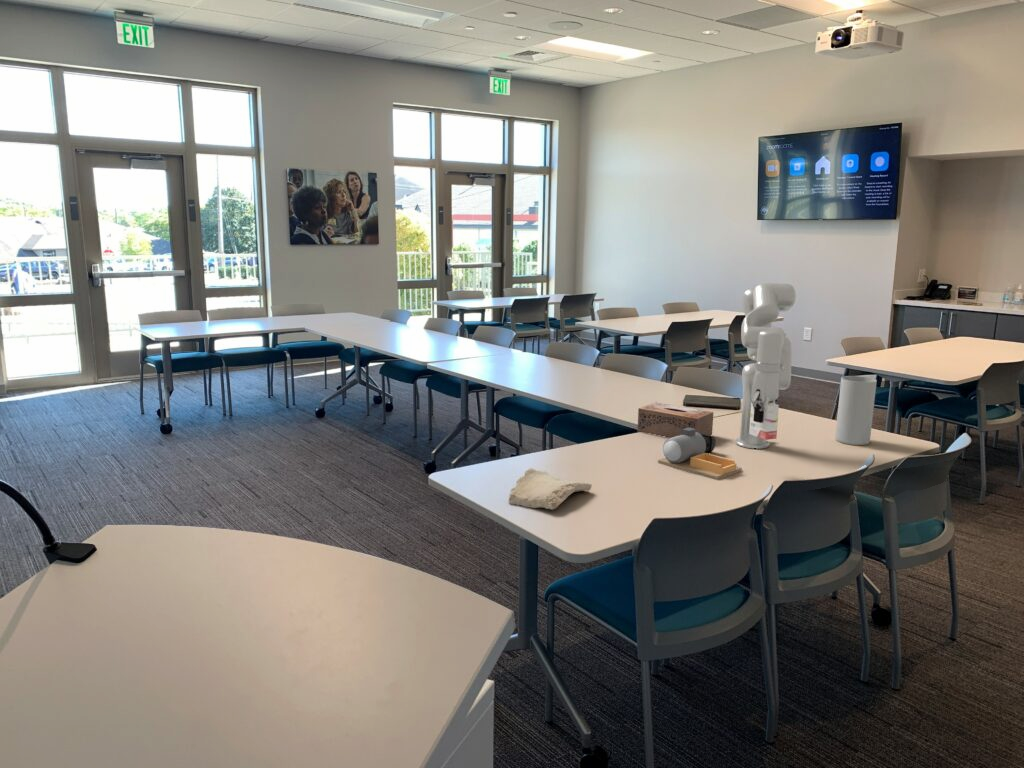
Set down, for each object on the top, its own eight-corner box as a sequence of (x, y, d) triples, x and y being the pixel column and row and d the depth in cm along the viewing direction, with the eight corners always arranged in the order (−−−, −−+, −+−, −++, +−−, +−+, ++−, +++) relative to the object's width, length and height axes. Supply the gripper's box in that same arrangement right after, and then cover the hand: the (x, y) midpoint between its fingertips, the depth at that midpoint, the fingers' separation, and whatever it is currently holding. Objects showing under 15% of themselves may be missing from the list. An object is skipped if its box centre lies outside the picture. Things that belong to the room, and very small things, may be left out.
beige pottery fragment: (498, 504, 227) (555, 513, 216) (497, 480, 226) (554, 487, 215) (541, 485, 247) (595, 492, 236) (540, 463, 246) (594, 469, 235)
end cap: (715, 452, 280) (716, 435, 278) (705, 456, 275) (706, 438, 273) (691, 447, 287) (692, 429, 285) (681, 450, 282) (682, 433, 280)
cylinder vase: (861, 437, 303) (868, 376, 298) (875, 446, 291) (882, 382, 286) (830, 436, 303) (836, 375, 298) (842, 445, 291) (849, 381, 286)
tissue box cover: (711, 436, 303) (713, 412, 301) (695, 443, 292) (697, 418, 290) (654, 425, 319) (656, 402, 317) (637, 432, 308) (638, 408, 306)
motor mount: (683, 454, 276) (685, 423, 274) (741, 470, 259) (744, 437, 256) (657, 462, 266) (659, 430, 264) (716, 479, 249) (719, 445, 246)
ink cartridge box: (777, 438, 252) (780, 395, 249) (765, 440, 250) (768, 397, 247) (760, 432, 259) (763, 390, 256) (748, 433, 258) (751, 391, 254)
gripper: (771, 363, 258) (766, 414, 262) (743, 369, 247) (739, 422, 251) (791, 366, 253) (787, 418, 256) (764, 372, 241) (760, 426, 245)
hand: (763, 419), depth 253 cm, fingers closed on ink cartridge box, 6 cm apart
